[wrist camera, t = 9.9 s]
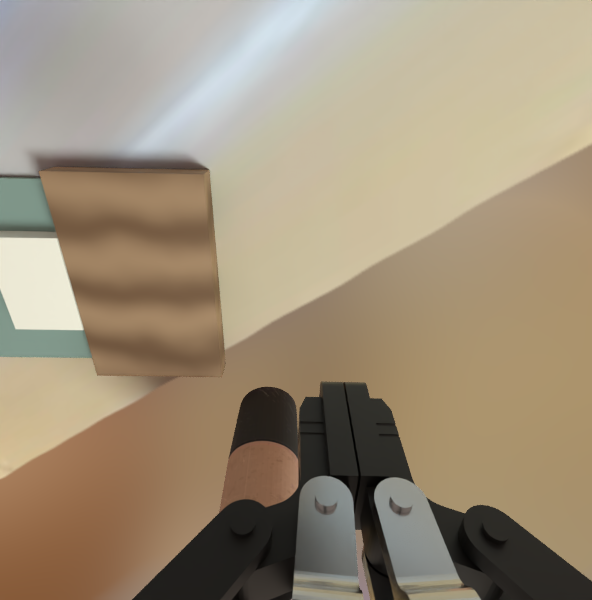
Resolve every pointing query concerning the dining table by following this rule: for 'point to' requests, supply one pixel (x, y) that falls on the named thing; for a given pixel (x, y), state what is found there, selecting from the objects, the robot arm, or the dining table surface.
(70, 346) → the rubber mat
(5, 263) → the plastic block
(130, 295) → the board
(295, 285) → the dining table surface
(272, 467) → the travel mug
